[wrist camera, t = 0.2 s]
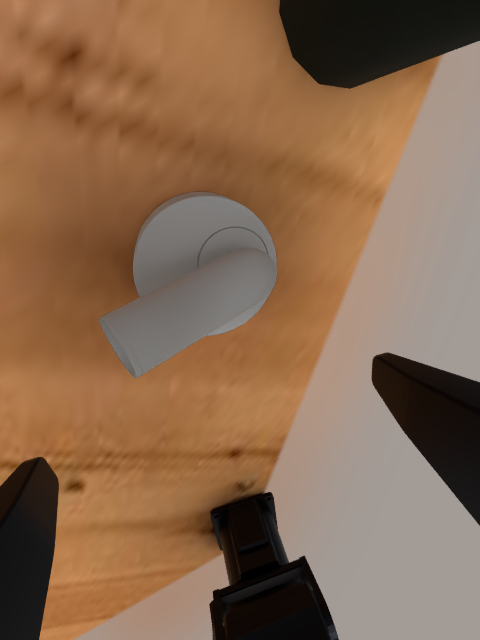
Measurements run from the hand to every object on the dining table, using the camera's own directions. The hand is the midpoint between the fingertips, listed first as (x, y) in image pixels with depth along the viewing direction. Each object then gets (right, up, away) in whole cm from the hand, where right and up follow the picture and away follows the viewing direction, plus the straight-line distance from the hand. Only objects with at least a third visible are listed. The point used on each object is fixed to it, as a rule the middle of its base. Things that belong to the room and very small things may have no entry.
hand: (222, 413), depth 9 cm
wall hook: (-3, +6, +13) cm, 15 cm away
